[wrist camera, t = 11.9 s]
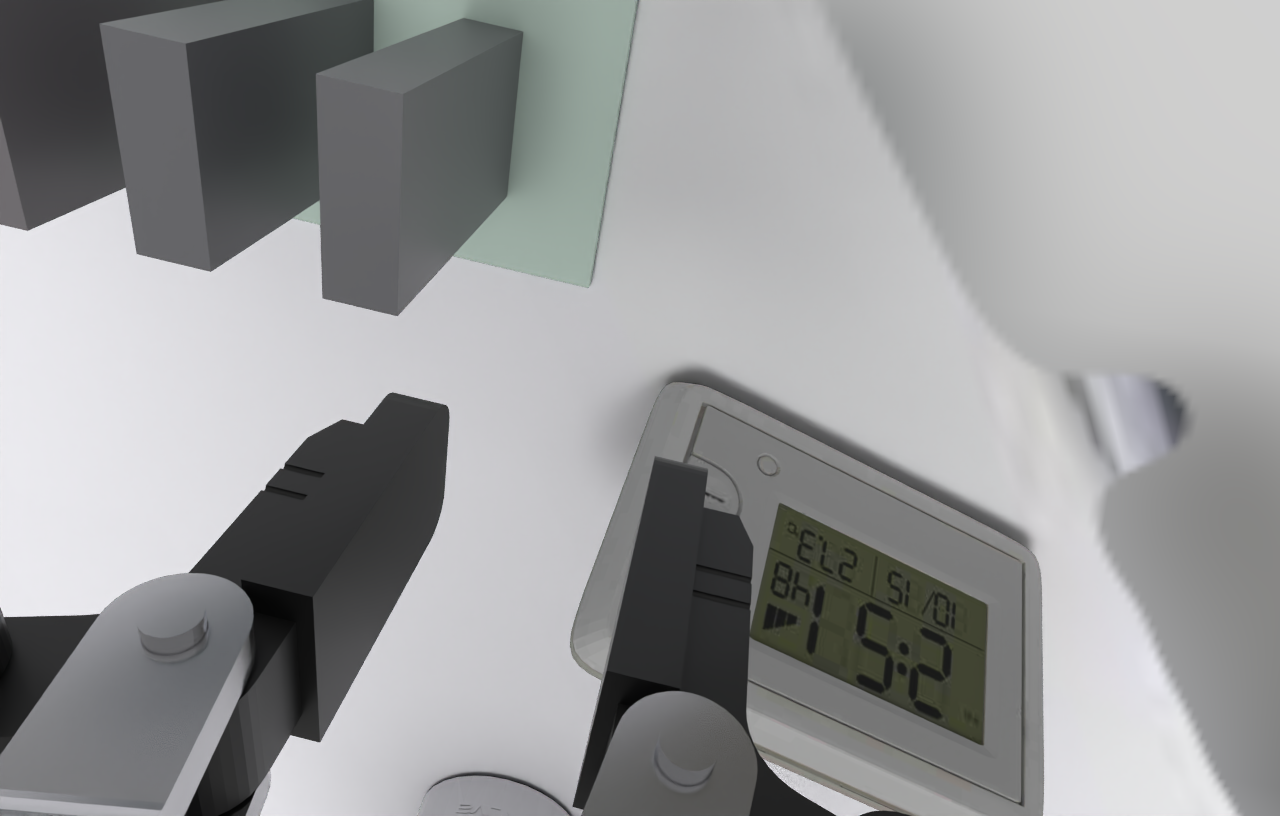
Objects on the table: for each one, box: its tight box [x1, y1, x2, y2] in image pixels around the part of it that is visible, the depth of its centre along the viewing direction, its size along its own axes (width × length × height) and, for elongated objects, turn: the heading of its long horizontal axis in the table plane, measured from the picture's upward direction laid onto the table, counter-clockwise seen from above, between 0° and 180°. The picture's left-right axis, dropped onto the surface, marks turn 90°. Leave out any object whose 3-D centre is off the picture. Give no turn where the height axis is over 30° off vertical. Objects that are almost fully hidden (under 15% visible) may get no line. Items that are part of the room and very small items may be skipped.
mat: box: [293, 0, 638, 288], centre depth 26 cm, size 10×26×1 cm, turn 80°
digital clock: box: [570, 382, 1044, 816], centre depth 27 cm, size 16×9×11 cm, turn 53°
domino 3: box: [316, 18, 523, 316], centre depth 21 cm, size 5×2×9 cm, turn 170°
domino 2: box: [99, 0, 374, 272], centre depth 22 cm, size 5×2×9 cm, turn 170°
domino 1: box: [0, 0, 224, 231], centre depth 22 cm, size 5×2×9 cm, turn 170°
